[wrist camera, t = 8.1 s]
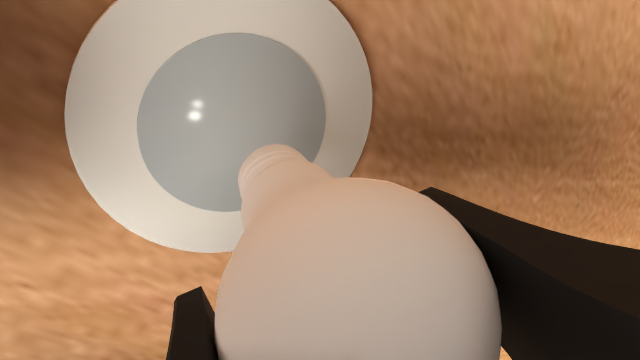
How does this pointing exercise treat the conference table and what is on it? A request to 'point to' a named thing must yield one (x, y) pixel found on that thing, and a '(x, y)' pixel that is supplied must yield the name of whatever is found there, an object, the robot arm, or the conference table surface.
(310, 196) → the lightbulb
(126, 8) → the saucer
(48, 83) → the conference table surface
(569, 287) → the robot arm
